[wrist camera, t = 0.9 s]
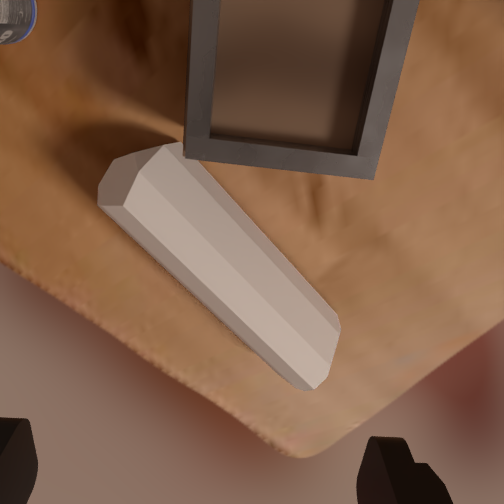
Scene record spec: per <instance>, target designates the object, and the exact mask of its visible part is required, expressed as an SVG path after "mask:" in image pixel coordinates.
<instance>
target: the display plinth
mask: <svg viewBox="0 0 504 504" xmlns="http://www.w3.org/2000/svg"><path fill="white" fill-rule="evenodd" d="M418 4H419V0H190V16H189V36H188V56H187V76H186V96H185V116H184V136H183V156H184V157H185V159H193V160H202V161H211V162H219V163H228V164H237V165H246V166H255V167H263V168H272V169H281V170H290V171H299V172H307V173H316V174H325V175H334V176H343V177H351V178H360V179H369V180H374V176H375V172H376V168H377V164H378V160H379V156H380V153H381V149H382V145H383V141H384V137H385V133H386V129H387V125H388V121H389V117H390V114H391V110H392V106H393V102H394V98H395V94H396V90H397V86H398V82H399V78H400V75H401V71H402V67H403V63H404V59H405V55H406V51H407V47H408V43H409V39H410V35H411V32H412V28H413V24H414V20H415V16H416V12H417V8H418Z"/></svg>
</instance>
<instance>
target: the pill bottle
mask: <svg viewBox="0 0 504 504" xmlns="http://www.w3.org/2000/svg"><path fill="white" fill-rule="evenodd" d="M36 18H37V5H36V0H0V44H11V43H16V42H19V41H21V40H23V39H25V38H26V37H27V36H28V35H29V34H30V33H31V31H32V30H33V28H34V26H35V23H36Z"/></svg>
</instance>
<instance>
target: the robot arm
mask: <svg viewBox="0 0 504 504" xmlns="http://www.w3.org/2000/svg"><path fill="white" fill-rule="evenodd" d="M37 471H38V460H37V455H36V450H35V445H34V440H33V435H32V430H31V425H30V422H29V420H28V419H24V418H2V417H0V504H27V501H28V499H29V497H30V495H31V493H32V490H33V488H34V485H35V481H36V477H37ZM356 488H357V500H358V504H453V502H452V500H451V497H450V495H449V493H448V491H447V489H446V486H445V484H444V483H443V482H442V481H441V479H440V478H439V477H438V476H437V475H436V474H435V472H434V471H433V470H432V469H431V467H430V466H429V465H428V464H427V463H415V462H414V459H413V457H412V455H411V452H410V449H409V447H408V445H407V443H406V441H405V440H404V439H403V438H398V437H378V436H377V437H376V436H372V437H370V439H369V440H368V443H367V446H366V450H365V453H364V456H363V460H362V463H361V466H360V469H359V473H358V476H357V486H356Z"/></svg>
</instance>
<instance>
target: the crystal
mask: <svg viewBox="0 0 504 504" xmlns="http://www.w3.org/2000/svg"><path fill="white" fill-rule="evenodd" d="M142 167H143V168H142ZM141 168H142V169H141ZM135 178H136V179H135ZM134 180H135V181H134ZM129 191H130V192H129ZM97 206H99V207H100V208H101V209H102V210H103V211H104V212H105V213H106V214H107V215H108V216H109V217H110V218H111V219H112V220H114V221H115V222H116V223H117V224H118V225H119V226H120V227H121V228H122V229H123V230H124V231H125V232H126V233H127V234H129V235H130V236H131V237H132V238H133V239H134V240H135V241H136V242H137V243H138V244H139V245H140V246H141V247H142V248H143V249H145V250H146V251H147V252H148V253H149V254H150V255H151V256H152V257H153V258H154V259H155V260H156V261H157V262H158V263H160V264H161V265H162V266H163V267H164V268H165V269H166V270H167V271H168V272H169V273H170V274H171V275H172V276H173V277H175V278H176V279H177V280H178V281H179V282H180V283H181V284H182V285H183V286H184V287H185V288H186V289H187V290H188V291H189V292H191V293H192V294H193V295H194V296H195V297H196V298H197V299H198V300H199V301H200V302H201V303H202V304H203V305H204V306H206V307H207V308H208V309H209V310H210V311H211V312H212V313H213V314H214V315H215V316H216V317H217V318H218V319H219V320H221V321H222V322H223V323H224V324H225V325H226V326H227V327H228V328H229V329H230V330H231V331H232V332H233V333H234V334H235V335H237V336H238V337H239V338H240V339H241V340H242V341H243V342H244V343H245V344H246V345H247V346H248V347H249V348H250V349H252V350H253V351H254V352H255V353H256V354H257V355H258V356H259V357H260V358H261V359H262V360H263V361H264V362H265V363H266V364H268V365H269V366H270V367H271V368H272V369H273V370H274V371H275V372H276V373H277V374H278V375H280V376H281V377H282V378H283V379H285V380H286V381H287V382H289V383H290V384H291V385H292V386H294V387H295V388H297V389H300V390H303V391H309V390H314V389H315V388H316V387H317V386H319V385H320V384H321V383H322V382H323V381H324V380H325V379H326V378H327V376H328V373H329V370H330V366H331V363H332V359H333V356H334V353H335V349H336V346H337V342H338V339H339V336H340V332H341V327H340V323H339V319H338V315H337V314H336V313H335V311H334V310H333V309H332V308H331V307H330V306H329V305H328V304H327V303H326V302H325V300H324V299H323V298H322V297H321V296H320V295H319V294H318V293H317V292H316V290H315V289H314V288H313V287H312V286H311V285H310V284H309V283H308V282H307V281H306V279H305V278H304V277H303V276H302V275H301V274H300V273H299V272H298V271H297V270H296V268H295V267H294V266H293V265H292V264H291V263H290V262H289V261H288V260H287V258H286V257H285V256H284V255H283V254H282V253H281V252H280V251H279V250H278V249H277V247H276V246H275V245H274V244H273V243H272V242H271V241H270V240H269V239H268V238H267V236H266V235H265V234H264V233H263V232H262V231H261V230H260V229H259V228H258V227H257V225H256V224H255V223H254V222H253V221H252V220H251V219H250V218H249V217H248V215H247V214H246V213H245V212H244V211H243V210H242V209H241V208H240V207H239V206H238V204H237V203H236V202H235V201H234V200H233V199H232V198H231V197H230V196H229V195H228V193H227V192H226V191H225V190H224V189H223V188H222V187H221V186H220V185H219V183H218V182H217V181H216V180H215V179H214V178H213V177H212V176H211V175H210V174H209V172H208V171H207V170H206V169H205V168H204V167H203V166H202V165H201V164H200V163H199V161H198V160H193V159H185V157H184V156H183V144H182V143H181V142H177V143H171V144H165V145H161V146H157V147H154V148H150V149H146V150H142V151H138V152H134V153H131V154H128V155H125V156H122V157H119V158H116V159H114V160H113V161H112V163H111V165H110V166H109V168H108V170H107V172H106V173H105V175H104V177H103V178H102V180H101V182H100V183H99V185H98V200H97Z"/></svg>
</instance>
